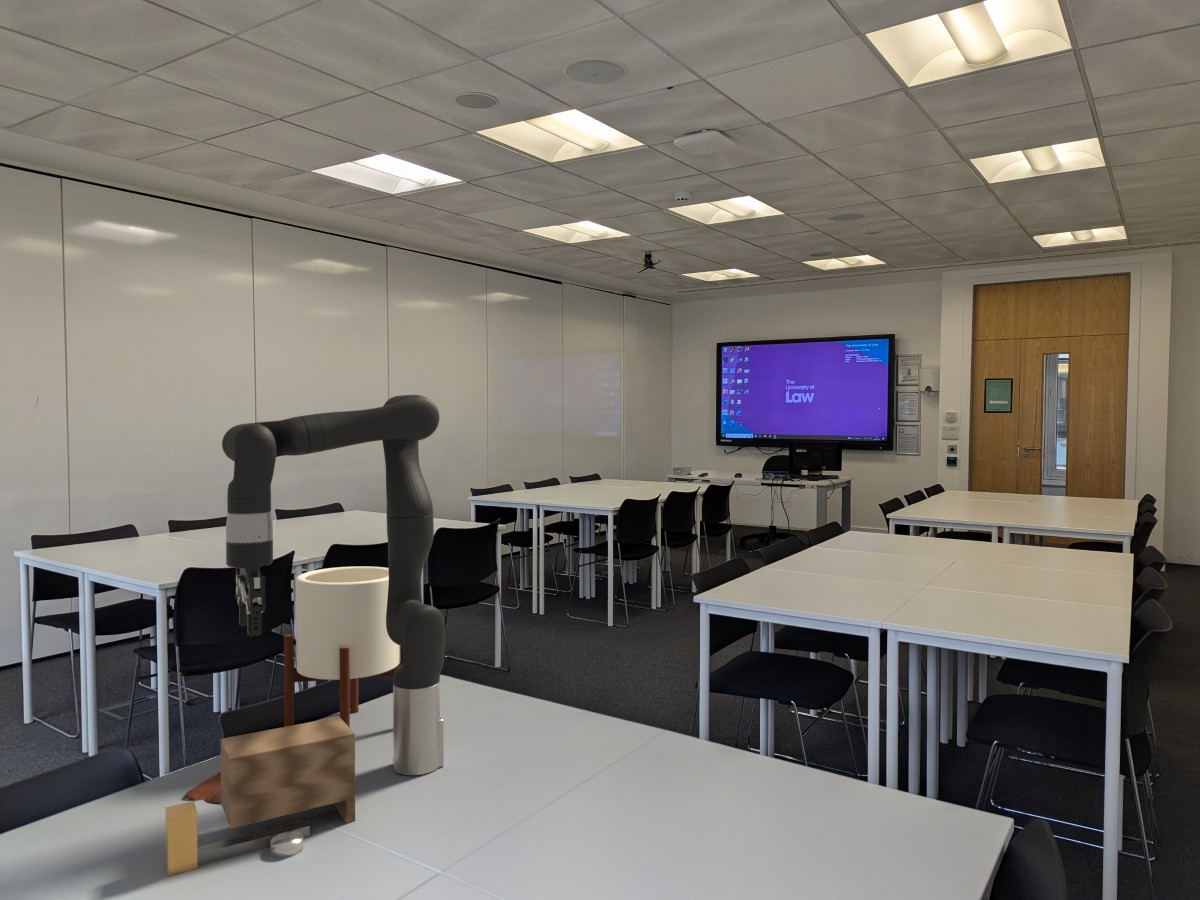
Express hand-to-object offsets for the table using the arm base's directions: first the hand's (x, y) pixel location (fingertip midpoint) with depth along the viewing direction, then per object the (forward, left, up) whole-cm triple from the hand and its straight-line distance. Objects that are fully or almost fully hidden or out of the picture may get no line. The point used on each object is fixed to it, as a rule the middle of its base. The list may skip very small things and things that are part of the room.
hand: (250, 630), depth 140 cm
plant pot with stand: (-26, -32, -33) cm, 53 cm away
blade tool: (+4, +11, -33) cm, 35 cm away
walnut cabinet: (-5, +6, -33) cm, 34 cm away
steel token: (-3, +15, -33) cm, 37 cm away
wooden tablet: (-3, -20, -34) cm, 40 cm away
